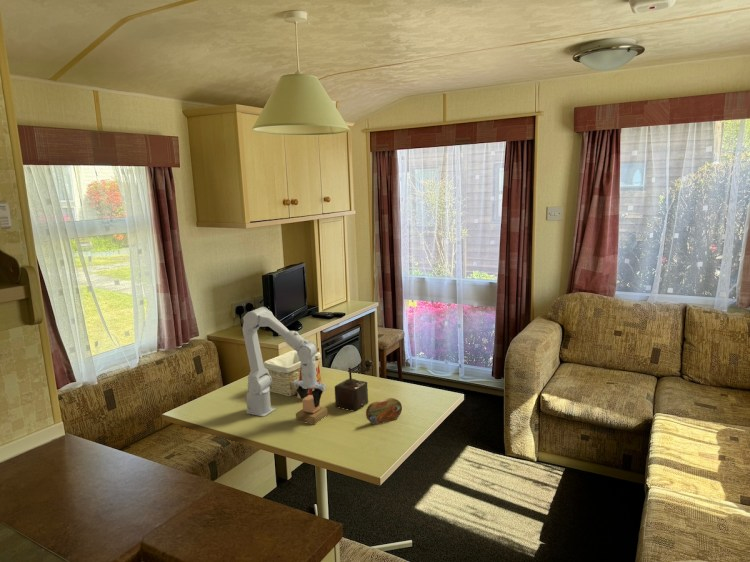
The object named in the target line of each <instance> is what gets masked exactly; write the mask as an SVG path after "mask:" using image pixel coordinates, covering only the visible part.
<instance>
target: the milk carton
mask: <svg viewBox="0 0 750 562" xmlns="http://www.w3.org/2000/svg"><path fill="white" fill-rule="evenodd" d="M313 356H314V355H313ZM318 357H319V356H316V355H315V362H316V377H317V382H318V383H321V384H323V382H322V380H323V379H322V375H321V374H322V373H320V367H319V361H318ZM299 381H302V370H301V365H300V371H299ZM314 390H315V389H311V388H308V395H312V391H314ZM297 399H301V397H300V395H299V393H297Z"/></svg>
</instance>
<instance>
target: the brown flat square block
mask: <svg viewBox="0 0 750 562" xmlns="http://www.w3.org/2000/svg"><path fill="white" fill-rule="evenodd" d="M326 415H327V416H328V408H327V407H321V406H320V409H319V410H317V411H316V412H314V413H310V412H305V411H303V408H302V409H300V410H299V411H297V412H295V421H296V422H300V421H301V423H305V422H307V423H306V424H310V423H312V424H311V425H317V424H318V423H319V422H320V421H322V420H323V419H325V418H326V417H327V416H326ZM325 416H326V417H325ZM324 417H325V418H324ZM322 418H323V419H322ZM321 419H322V420H321ZM318 421H319V422H318ZM317 422H318V423H317Z"/></svg>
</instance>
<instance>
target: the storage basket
mask: <svg viewBox="0 0 750 562" xmlns="http://www.w3.org/2000/svg"><path fill="white" fill-rule="evenodd" d="M315 355H316V356H319V357H318V361H319V367H320V373H321V370H322V367H321V366H322V365H321V364H322V356H321V352H319V351H317V353H316V354H315ZM263 364H264V368H266V369H267V370H268V372H269V375H270V376H271V378H272V384H271V385H270V389H269V391H270V393H275V394H278V395H281V396H286V397H292V396H295V395H296V394H298V392H297V389H298V386H296V387H295V386H294V381H296V380H298V381H299V371H300V365H301V360H300V358H299V357H298V354H297V351H295V350H294V349H292V350H290V351H287V352H285V353H282V354H280V355H278V356H276V357H273V358H270V359H267V360H265V361H263ZM321 374H322V373H321Z"/></svg>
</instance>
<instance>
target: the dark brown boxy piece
mask: <svg viewBox="0 0 750 562" xmlns="http://www.w3.org/2000/svg"><path fill="white" fill-rule="evenodd" d="M373 364H374V362H373V360H372V359H365V360H364V361H363V365H364V369H356V370H355V369H354V370H352V367H349V366H348V376H349V378H347V379H345V380H343V381H342V382H340V383H338V384H336V385H334V401H335V408H338V407H340V408H339V409H342V408H344V409H343V410H346V409H348V410H347V411H350V410H353V411H352V412H356V411H358V410H361V409H362V408H363V407H364V405H365V404H366V405H368V403H369V394H368V393H369V392H368V391H369V389H368V382H367V381H365V380H364V381H363V380H359V379H358V380H357V379H356V378H353V376H352V374H355V373H365V372H366V373H368V372H369V371H372V369H371V368H372V366H373ZM366 405H365V406H366ZM361 407H362V408H361Z"/></svg>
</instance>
